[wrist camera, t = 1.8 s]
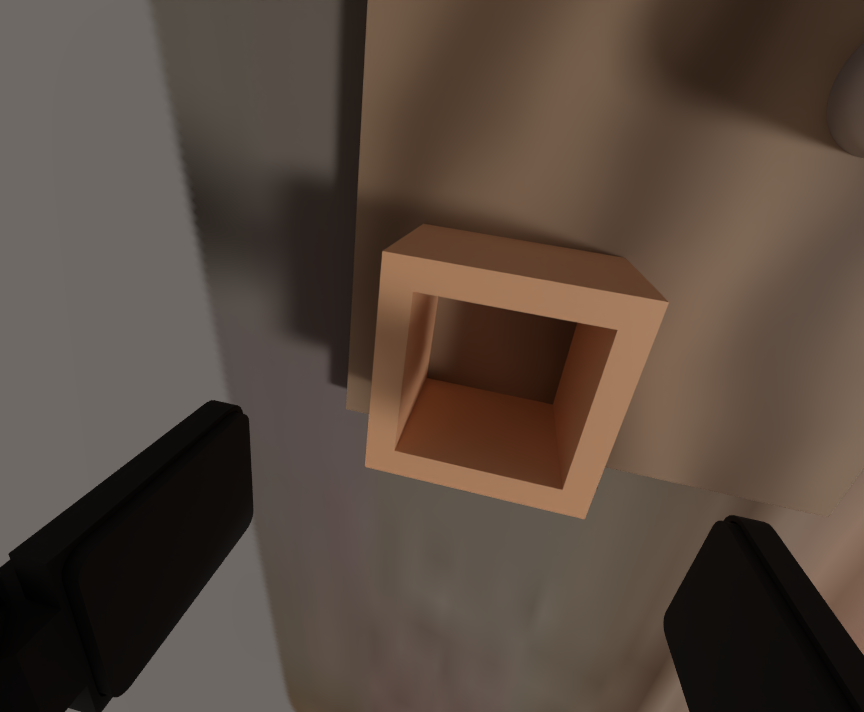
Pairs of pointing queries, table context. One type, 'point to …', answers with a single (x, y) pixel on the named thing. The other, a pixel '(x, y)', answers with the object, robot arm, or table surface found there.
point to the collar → (493, 412)
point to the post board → (642, 213)
